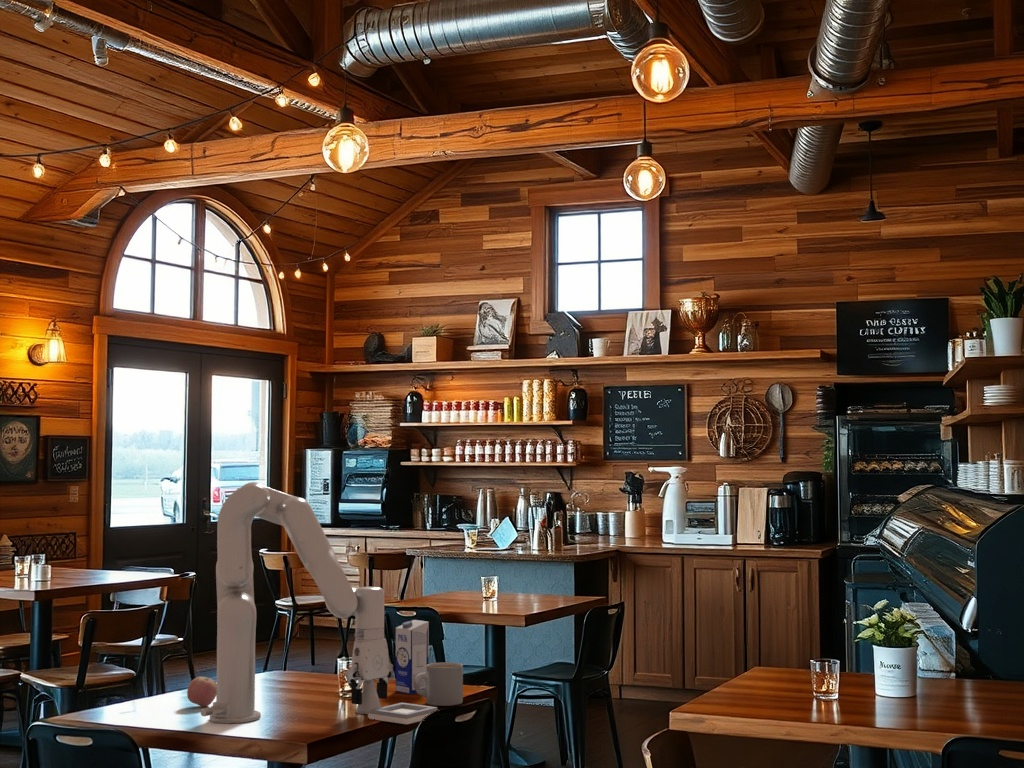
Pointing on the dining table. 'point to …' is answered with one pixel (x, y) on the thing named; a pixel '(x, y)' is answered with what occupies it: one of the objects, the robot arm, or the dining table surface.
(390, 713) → the socket board
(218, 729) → the dining table surface
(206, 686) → the apple
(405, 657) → the milk carton
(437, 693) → the coffee mug
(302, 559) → the robot arm
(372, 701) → the flask
